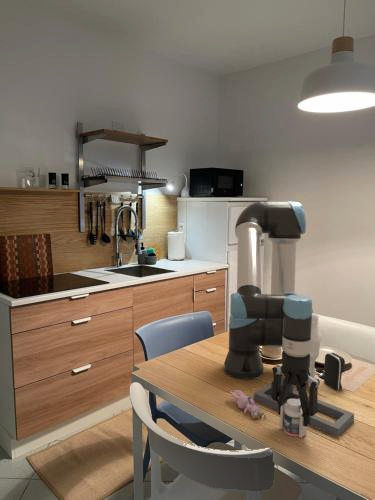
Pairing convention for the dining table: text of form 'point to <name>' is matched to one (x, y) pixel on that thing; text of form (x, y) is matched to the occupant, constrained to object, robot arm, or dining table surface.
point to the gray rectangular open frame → (329, 427)
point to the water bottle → (314, 344)
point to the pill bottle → (292, 417)
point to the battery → (333, 370)
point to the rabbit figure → (247, 404)
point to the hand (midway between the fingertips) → (292, 430)
